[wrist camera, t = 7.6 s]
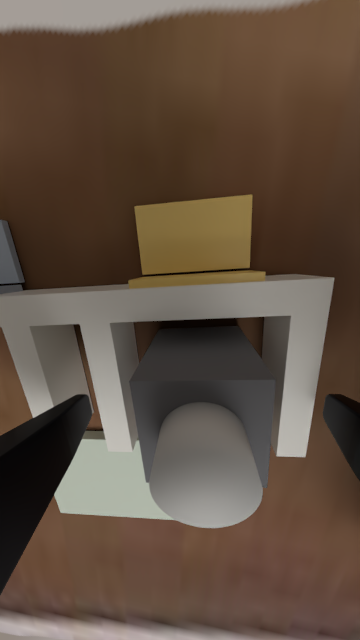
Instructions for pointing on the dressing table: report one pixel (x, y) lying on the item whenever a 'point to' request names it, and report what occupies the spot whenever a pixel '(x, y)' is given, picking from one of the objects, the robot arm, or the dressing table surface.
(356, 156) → the dressing table surface
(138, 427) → the plug
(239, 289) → the socket board
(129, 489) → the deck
